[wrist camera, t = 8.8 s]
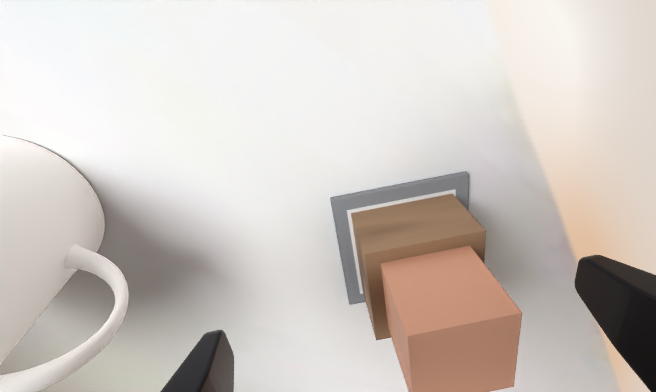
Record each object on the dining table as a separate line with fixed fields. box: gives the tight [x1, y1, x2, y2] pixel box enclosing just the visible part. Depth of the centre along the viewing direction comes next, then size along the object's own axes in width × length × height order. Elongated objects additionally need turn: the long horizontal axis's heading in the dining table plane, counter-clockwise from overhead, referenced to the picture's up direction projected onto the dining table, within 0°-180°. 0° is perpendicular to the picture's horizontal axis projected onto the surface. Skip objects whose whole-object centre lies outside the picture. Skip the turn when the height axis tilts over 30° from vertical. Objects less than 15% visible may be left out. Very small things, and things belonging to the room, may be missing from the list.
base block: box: [351, 194, 486, 340], centre depth 21 cm, size 6×6×4 cm
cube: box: [380, 246, 522, 392], centre depth 17 cm, size 4×4×4 cm
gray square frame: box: [330, 171, 469, 305], centre depth 23 cm, size 8×8×1 cm
